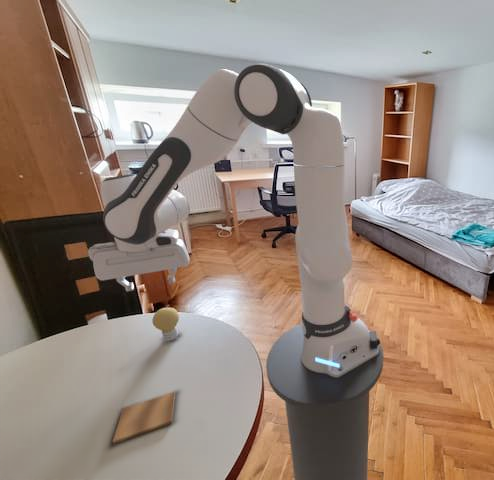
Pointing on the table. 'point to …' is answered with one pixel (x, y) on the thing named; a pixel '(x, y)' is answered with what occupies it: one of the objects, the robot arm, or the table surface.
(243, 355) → the table surface
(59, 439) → the table surface
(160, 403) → the wooden board
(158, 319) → the light bulb
